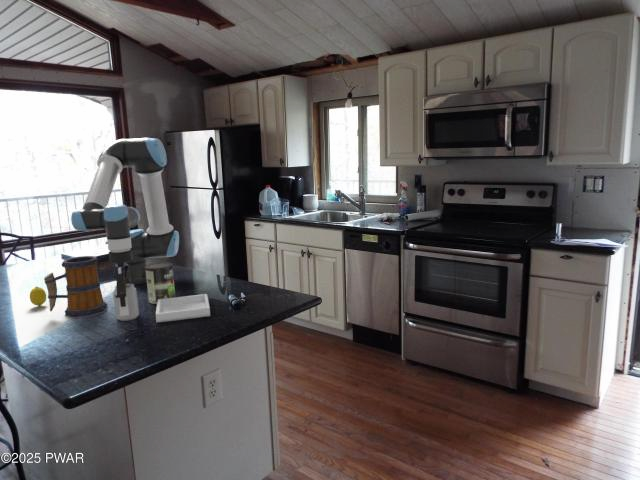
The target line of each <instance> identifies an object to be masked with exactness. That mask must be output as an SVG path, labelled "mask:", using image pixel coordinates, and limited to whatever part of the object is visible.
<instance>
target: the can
mask: <svg viewBox="0 0 640 480" xmlns="http://www.w3.org/2000/svg"><path fill="white" fill-rule="evenodd" d="M112 292H113V293H112V294H113V303H114V309H115V317H116V319H117V320H119V321H121V322H125V321H126V322H127V321H128V322H129V321H132V320H135V319H137V318H138V316H139V315H140V311H139V303H138V295H137V294H138V292H137V288H136V287H135V285H134V284H129V283H128V284H126V295H127V300H128V309H129V315H125V316H120V309H119V300H118V298H116V295H117V285H115V286H114V290H112Z"/></svg>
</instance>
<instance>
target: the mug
mask: <svg viewBox="0 0 640 480" xmlns="http://www.w3.org/2000/svg"><path fill="white" fill-rule="evenodd" d="M99 261H100V260H99V258H97V256H93V255H84V256H83V255H82V256H75V257H70V258H66V259H64V260H63V261H62V263H61V267H62V268H64V270H65V271H64V272H65V273H64V274H61V275H58V276H54V272H50V273H49V274H47V275H46V276H45V277H44V284H45V285H46V289H47V293H48V295H47V299H48V302H49V312H52V311H53V310H54V308H55V305H56V302H57V299H67V307H66V308H65V310H64V313H65V314H64V316H65V317H66V318H69V319H85V318H91V317H94V316H99V315H101V314H103V313H105V312H107V311H108V309H109V308H108V307H109V306H108V304H107V302H106V301H104V298H103V294H102V290H101V281H100V279H99V274H98V266H97V264H98V262H99ZM64 278H65V279H66V285H65V288H66V293H67V294H58V285H57V281H59V280H61V279H64Z"/></svg>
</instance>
